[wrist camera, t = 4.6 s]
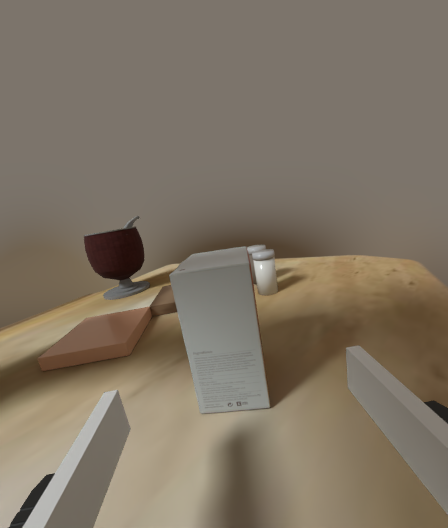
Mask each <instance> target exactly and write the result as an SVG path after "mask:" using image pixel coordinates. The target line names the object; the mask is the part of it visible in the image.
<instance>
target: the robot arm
mask: <svg viewBox="0 0 448 528" xmlns="http://www.w3.org/2000/svg"><path fill="white" fill-rule="evenodd" d="M346 360H347V379H348V389H349V390H350V391H351V393H352V394H353V395H354V396H355V398H356V399H357V400H358V401H359V403H360V404H361V405H362V407H363V408H364V409H365V410H366V412H367V413H368V414H369V416H370V417H371V418H372V419H373V421H374V422H375V423H376V424H377V426H378V427H379V428H380V430H381V431H382V432H383V433H384V435H385V436H386V437H387V438H388V440H389V441H390V442H391V444H392V445H393V446H394V447H395V449H396V450H397V451H398V452H399V454H400V455H401V456H402V458H403V459H404V460H405V461H406V463H407V464H408V465H409V466H410V468H411V469H412V470H413V472H414V473H415V474H416V475H417V477H418V478H419V479H420V480H421V482H422V483H423V484H424V486H425V487H426V488H427V489H428V491H429V492H430V493H431V494H432V496H433V497H434V498H435V500H436V501H437V502H438V503H439V505H440V506H441V507H442V508H443V510H444V511H445V512H446V514H447V515H448V408H447V407H445V406H443V405H441V404H439V403H437V402H436V401H429V402H422V401H421V400H420V399H419V398H418V397H417V396H416V395H415V394H413V393H412V392H411V391H410V390H409V389H408V388H407V387H405V386H404V385H403V384H402V383H401V382H400V381H399V380H398V379H396V378H395V377H394V376H393V375H392V374H391V373H390V372H389V371H387V370H386V369H385V368H384V367H383V366H382V365H381V364H380V363H378V362H377V361H376V360H375V359H374V358H373V357H372V356H371V355H369V354H368V353H367V352H366V351H365V350H364V349H363V348H362V347H360V346H359V345H358V346H352V347H347V348H346ZM129 432H130V425H129V422H128V419H127V416H126V413H125V410H124V407H123V404H122V401H121V398H120V395H119V392H118V390H114V391H109V392H104V394H103V395H102V397H101V399H100V400H99V402H98V404H97V405H96V407H95V408H94V410H93V412H92V413H91V415H90V417H89V418H88V420H87V422H86V423H85V425H84V427H83V428H82V430H81V432H80V433H79V435H78V437H77V438H76V440H75V442H74V443H73V445H72V446H71V448H70V450H69V451H68V453H67V455H66V456H65V458H64V460H63V461H62V463H61V465H60V466H59V468H58V470H57V471H56V473H54V474H49V475H46V476H45V477H44V478H43V479H42V480H41V481H40V483H39V484H38V485H37V486H36V487H35V488H34V489H33V490H32V491H31V493H30V495H29V496H28V498H27V499H26V501H25V502H24V504H23V505H22V507H21V508H20V512H18V513H17V514H16V516H15V518H14V519H13V521H12V522H11V525H10V527H9V528H93V527H94V524H95V521H96V519H97V516H98V514H99V511H100V508H101V506H102V503H103V500H104V498H105V495H106V492H107V490H108V487H109V485H110V482H111V479H112V477H113V474H114V471H115V469H116V466H117V463H118V461H119V458H120V455H121V453H122V450H123V448H124V445H125V442H126V440H127V437H128V434H129Z"/></svg>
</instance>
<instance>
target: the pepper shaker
mask: <svg viewBox="0 0 448 528" xmlns="http://www.w3.org/2000/svg"><path fill="white" fill-rule="evenodd" d="M265 249H266V248H265V245H254V246H250V247H247V250H248V254H249V259H250V264H251V270H252V278H253V284H257V282H256V275H255V268H254V261H253V258H252V253H253V252H255V251H259V250H265Z"/></svg>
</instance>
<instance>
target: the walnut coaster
mask: <svg viewBox="0 0 448 528" xmlns="http://www.w3.org/2000/svg"><path fill="white" fill-rule="evenodd" d="M150 310H151V314H152V316H157V315H162V314H168V313H173V312H177V308H176V303H175V299H174V294H173V290H172V286H171V285H169V286H164V287H162V289H161V290H160V292H159V293H158V295H157V296H156V298H155V299H154V301H153V302H152V304H151V305H150Z"/></svg>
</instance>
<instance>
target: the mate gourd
mask: <svg viewBox="0 0 448 528" xmlns="http://www.w3.org/2000/svg"><path fill="white" fill-rule="evenodd" d="M136 219H139V216H136V217H135V218H133V219H132V220H130V221H129V222H128V223H127V224H126V225H125V226H124V228H123V229H117V230H112V231H106V232H100V233H94V234H88V235H84V243H85V250H86V253H87V257H88V260H89V262H90V264H91V266H92V267H93V269H94V271H95V272H96V273H98V274H99V275H100V276H102V277H103V278H110V279H116V280H120V283H119V286H118V287H115V288H113V289H111V290H109V291H107V292H106V293H104V295H103V296H104V298H105V299H108V300H112V299H120V298H124V297H128V296H132V295H135V294H137V293H140V292H142V291H144V290H146V289H147V288H149V286H150V283H149V282H147V281H139V282H132V281H131V280H130V278H129V277H130V276H132V275H133V274H134V273H136V272H137V271H138V270H140V269H141V267H142V264H143V262H144V248H143V244H142V240H141V237H140V235H139V233H138V231H137V229H136V227H132V225H133V223H134V222H135V220H136Z"/></svg>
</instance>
